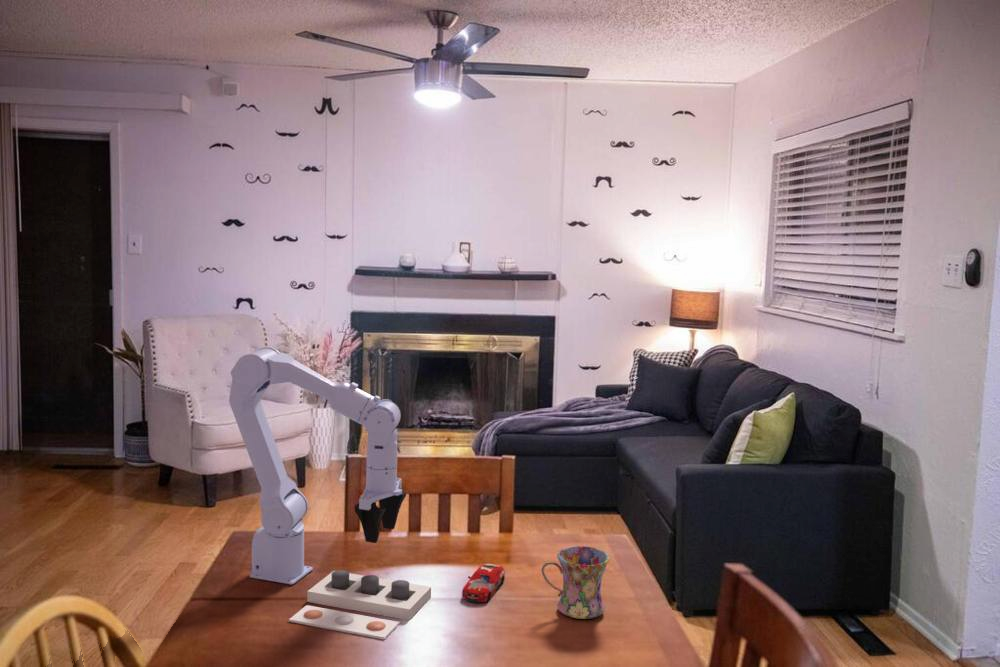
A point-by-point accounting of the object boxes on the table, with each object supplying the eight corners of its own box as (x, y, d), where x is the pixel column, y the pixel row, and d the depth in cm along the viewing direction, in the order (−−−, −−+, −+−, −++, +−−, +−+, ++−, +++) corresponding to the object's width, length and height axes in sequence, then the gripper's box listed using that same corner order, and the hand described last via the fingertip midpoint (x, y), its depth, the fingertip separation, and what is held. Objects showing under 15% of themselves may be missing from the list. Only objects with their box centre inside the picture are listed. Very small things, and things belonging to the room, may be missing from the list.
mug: (602, 601, 165) (605, 546, 163) (610, 624, 155) (613, 566, 154) (537, 599, 164) (540, 545, 163) (542, 622, 155) (544, 565, 154)
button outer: (388, 599, 159) (388, 585, 158) (395, 592, 162) (395, 579, 162) (404, 601, 158) (405, 588, 158) (411, 594, 161) (412, 581, 161)
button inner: (328, 588, 162) (328, 575, 162) (336, 581, 165) (336, 569, 165) (344, 591, 161) (344, 578, 161) (352, 584, 164) (352, 571, 164)
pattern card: (288, 621, 152) (288, 618, 152) (306, 607, 158) (306, 603, 158) (384, 639, 147) (384, 636, 147) (399, 624, 153) (399, 620, 152)
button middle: (358, 593, 161) (358, 580, 160) (365, 586, 164) (366, 574, 163) (374, 596, 160) (374, 583, 159) (381, 589, 163) (381, 576, 162)
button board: (307, 601, 160) (307, 591, 160) (333, 580, 170) (333, 570, 169) (409, 620, 154) (409, 609, 154) (430, 597, 164) (431, 586, 163)
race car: (485, 608, 161) (485, 587, 160) (457, 602, 163) (458, 582, 162) (509, 580, 173) (509, 560, 173) (483, 575, 175) (483, 556, 174)
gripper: (384, 478, 159) (383, 551, 160) (416, 458, 172) (414, 525, 174) (349, 473, 161) (348, 545, 163) (383, 454, 174) (382, 520, 176)
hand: (380, 534), depth 168 cm, fingers open, 7 cm apart
